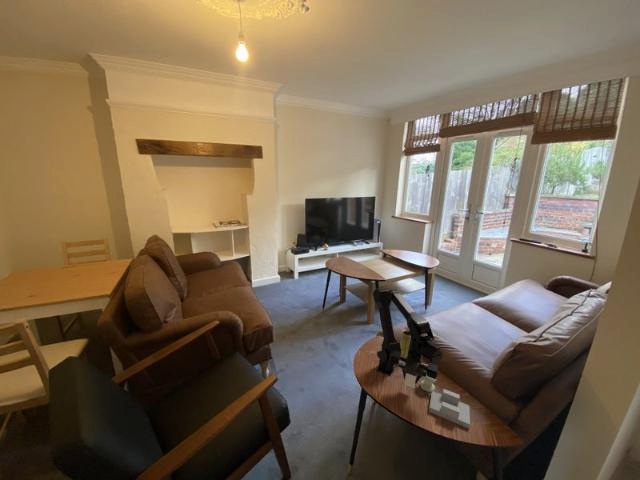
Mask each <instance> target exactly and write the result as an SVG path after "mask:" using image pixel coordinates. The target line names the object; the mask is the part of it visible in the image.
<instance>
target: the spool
mask: <svg viewBox="0 0 640 480" xmlns="http://www.w3.org/2000/svg"><path fill="white" fill-rule="evenodd" d="M421 378H423V380H421V381H420V384H419V385H420V386H419V387H420V388H421V389H422V390H423V391H426V392H428V393H432V391H434V392H435V391H436V386H435V385H434V383H436V381H437V379H438V378H437V379H433V378H430V377H428V376H427V375H426V377H424V376H422V377H421Z"/></svg>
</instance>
